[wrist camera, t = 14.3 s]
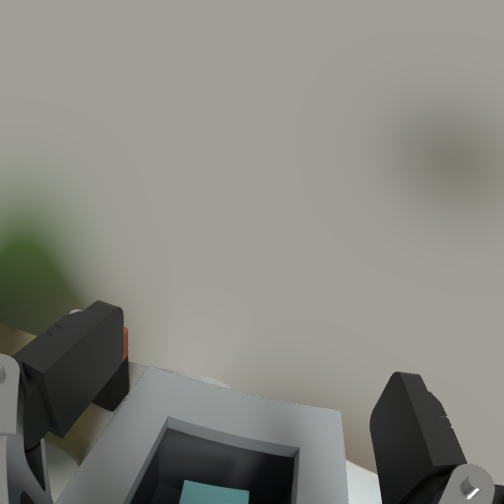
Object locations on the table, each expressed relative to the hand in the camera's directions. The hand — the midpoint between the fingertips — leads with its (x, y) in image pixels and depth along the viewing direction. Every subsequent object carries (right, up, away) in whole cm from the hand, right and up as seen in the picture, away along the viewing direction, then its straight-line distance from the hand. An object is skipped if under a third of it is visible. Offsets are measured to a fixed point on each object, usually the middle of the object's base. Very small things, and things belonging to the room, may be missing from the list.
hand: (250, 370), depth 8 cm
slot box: (-4, -20, +6) cm, 22 cm away
